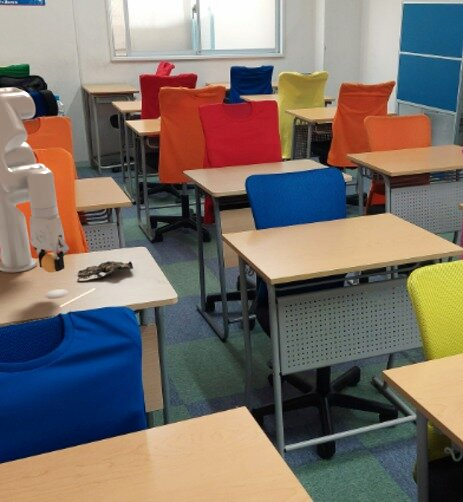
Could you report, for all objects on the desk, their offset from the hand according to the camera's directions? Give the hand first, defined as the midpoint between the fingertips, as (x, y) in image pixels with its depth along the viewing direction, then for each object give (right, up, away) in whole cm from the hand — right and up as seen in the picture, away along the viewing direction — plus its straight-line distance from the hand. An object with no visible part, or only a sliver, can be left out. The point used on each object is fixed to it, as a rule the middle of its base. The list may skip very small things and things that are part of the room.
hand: (52, 267), depth 188 cm
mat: (+6, -9, +1) cm, 11 cm away
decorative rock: (+12, -3, +18) cm, 22 cm away
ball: (0, -1, +1) cm, 1 cm away
